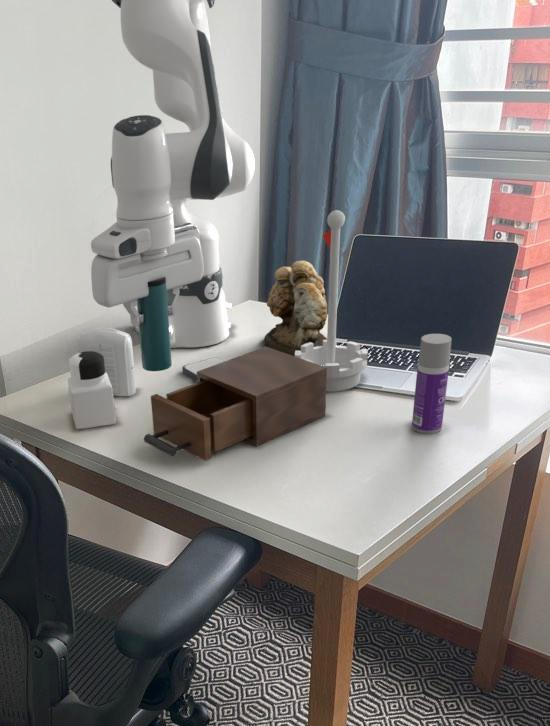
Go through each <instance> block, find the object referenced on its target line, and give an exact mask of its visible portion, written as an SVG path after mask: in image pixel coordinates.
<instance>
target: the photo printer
mask: <svg viewBox="0 0 550 726" xmlns="http://www.w3.org/2000/svg"><path fill="white" fill-rule="evenodd" d="M78 349H79V353H80V352H85V351H93V352H98V353H100V354H102V355H103V356H104V363H105V372H106V373H107V375H108V378H109V380H110V383H111V386H112V390H113V396H116V397H117V396H118V397H132V396H133V395H135V393H136V392H137V391H136V376H135V375H136V373H135V364H134V363H135V361H134V352H133V351H134V350H133V340H132V337H131V335H130V334H129V333H127V332H125V331H123V330H119V329H114V328H109V327H95V328H89V329H86V330H83V331H82V332H80V333H79V336H78Z"/></svg>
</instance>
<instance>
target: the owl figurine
mask: <svg viewBox="0 0 550 726" xmlns="http://www.w3.org/2000/svg"><path fill="white" fill-rule="evenodd" d="M273 276H274V280H275V283H274V284H273V285H272V287H271V290H270V291H269V292H268V301H267V302H266V306H267V307H269V312H270V314H271V315H273V317H275V318H277V317H278V318H279V319H281V320H282V322H280V323H277V324H275V327H273V328H271V329H270V330H269V331H268V332H266V334H265V336H264V338H263V339H264V347H265V346H266V347H269V348H272V349H275V350H277V351H280V352H283V353H286V354H289V355H292V356H295V351H301V345H304V344H306V343H309V342H311V343H313V344H314V347H317V346H323V340H327V336H326V335H324V334H323V333H321V331H322V330H323V329H324V327H325V325H326V321H327V320H328V303H327V300H326V295H325V294H326V290H325V287H324V286H325V285H324V284H325V281H324V279H323V277H322V276H320V275H319V274H318V273H317V272H316V269H315V267H314V265H313V264H312V263H311V262H310V261H306V260H296V261H294V262H293V263H292V265H291V266H282V267H279V268H278V269H276V270H275V272H274V275H273Z"/></svg>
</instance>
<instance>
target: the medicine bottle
mask: <svg viewBox="0 0 550 726" xmlns="http://www.w3.org/2000/svg"><path fill="white" fill-rule="evenodd" d="M68 364H69V372H70V377H68V378H67V386H68V387H67V388H68V393H69V400H70V401H69V402H70V406H71V407H70V408H71V413H72V414H71V415H72V417H73V422H74V426H75V429H76V430H83V429H91V428H99V427H105V426H111V425H116V423H117V418H116V409H115V408H116V407H115V402H114V401H115V400H114V399H115V398H114V395H113V390H112V386H111V383H110V380H109V378H108V375H107V373H106V372H105V363H104V356H103V355H102V354H100V353H98V352H93V351H85V352H80V351H79V352H77V353H75V354H73V355H72V356H71V357H70V358H69V360H68Z"/></svg>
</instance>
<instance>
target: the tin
mask: <svg viewBox="0 0 550 726" xmlns="http://www.w3.org/2000/svg"><path fill="white" fill-rule="evenodd" d="M148 287H149V294H148V296H146V297H143V298H140V299H137V306H136V310H137V312H139V313H141V314H144V319H143V320H144V324H142V325H140V326H139V333H138V334H139V342H140V353H141V364H142V365H141V366H142V369H143V370H144V371H148V372H162V371H166V370H168V369H170V368H171V367H172V350H171V349H172V348H170V333H169V318H168V303H167V290H166V277H163V278H160V279H157V280H153V281H150V282H148Z"/></svg>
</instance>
